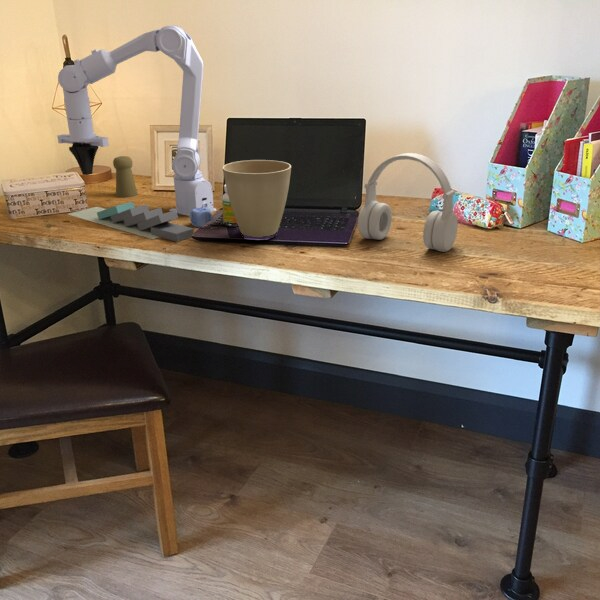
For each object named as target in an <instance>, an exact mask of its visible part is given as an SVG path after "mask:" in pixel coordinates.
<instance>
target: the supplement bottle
mask: <svg viewBox="0 0 600 600" xmlns="http://www.w3.org/2000/svg"><path fill="white" fill-rule="evenodd" d="M223 186H224V192H225V193H224V194H223V195H222V197H221V202H222V203H221V204H222V217H223V223H224V222H229V223H237V221H236V219H235V216H234V213H233V210H232V207H231V203H230V200H229V196H228V193H227V188H226V184H224V185H223Z"/></svg>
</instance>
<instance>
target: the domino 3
mask: <svg viewBox="0 0 600 600" xmlns="http://www.w3.org/2000/svg"><path fill="white" fill-rule="evenodd" d="M161 214H164V212H163V210H162V207H159V208H155V209H151V210H149V211H147V212H143V213H141V214H138V215H135V216H132V217H130V218H127V219H124V220H123V221H124V224H125V227H128V226H131V225H135V224H137V223H140V222H142V221H145V220H148V219H150V218H153V217H155V216H158V215H161Z"/></svg>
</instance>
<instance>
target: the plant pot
mask: <svg viewBox="0 0 600 600" xmlns="http://www.w3.org/2000/svg"><path fill="white" fill-rule="evenodd" d="M222 172H223V178H224V183H225V184H226V188H227V193H228V196H229V200H230V203H231V207H232V210H233V213H234V216H235V219H236V221H237V224H238V226H239V227H238V229H239V231H240V232H241V233H242V234H244V235H247V236H252V237H263V236H270V235H273V234H275V233H276V232H277V233H278V230H279V228H280V224H281V223H282V222H281V221H282V219H283V214H284V213H285V207H286V203H287V198H288V193H289V189H290V188H289V187H290V182H291V181H290V180H291V173H292V165H291V164H290V163H288V162H285V161H279V160H273V159H272V160H270V159H269V160H268V159H267V160H266V159H250V160H240V161H239V160H238V161H232V162H230V163H226V164H224V165H223V166H222ZM225 184H224V185H225ZM242 234H241V235H242Z"/></svg>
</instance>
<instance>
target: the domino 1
mask: <svg viewBox="0 0 600 600" xmlns="http://www.w3.org/2000/svg"><path fill="white" fill-rule="evenodd" d="M134 203H135V202H134V201H131V202H126V203H122V204H119V205H114V206H111V207H108V208H105V209H106V210H103V211H100V212H97V215H98V218H99V220H100V219H104V218H107V217H110V216H112V215H115V214H118V213H120V212H123V211H126V210H129V209H132V208H135V207H136V206H135V204H134Z"/></svg>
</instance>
